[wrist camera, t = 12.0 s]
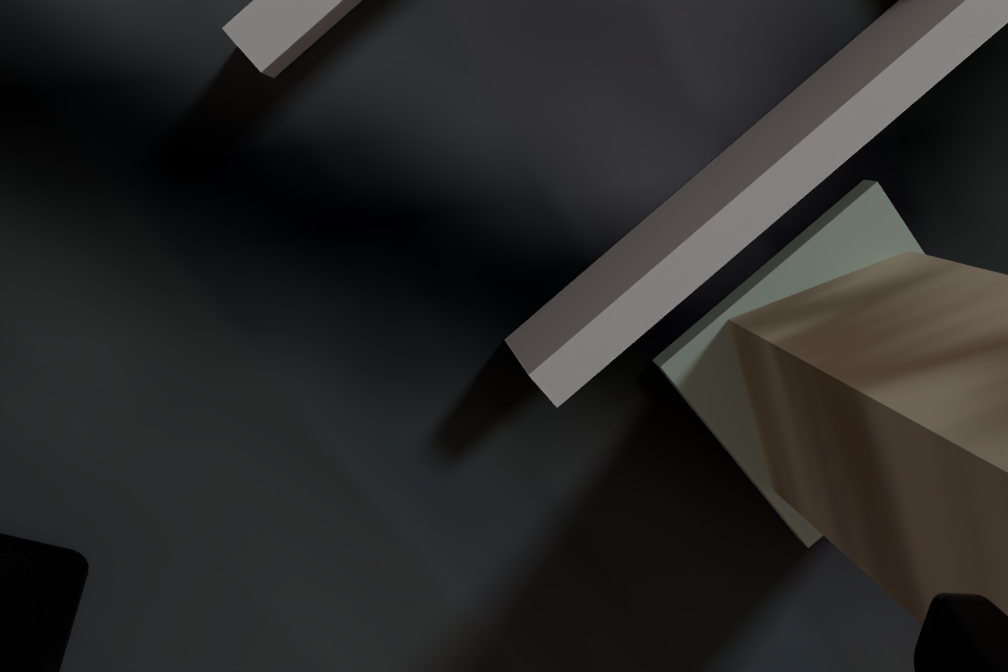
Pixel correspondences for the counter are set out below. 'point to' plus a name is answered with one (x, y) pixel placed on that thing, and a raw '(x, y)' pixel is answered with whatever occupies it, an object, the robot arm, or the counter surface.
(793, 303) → the beech block
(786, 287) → the pad
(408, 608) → the counter surface
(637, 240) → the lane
